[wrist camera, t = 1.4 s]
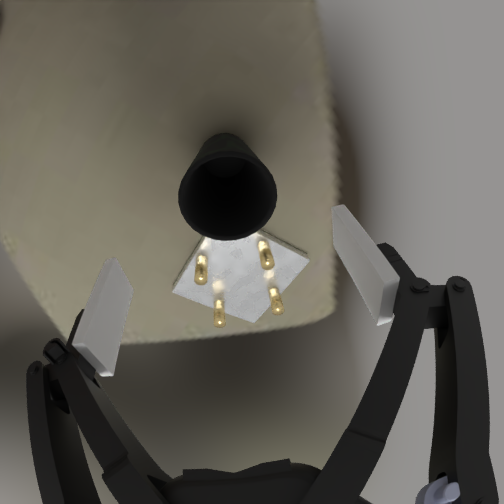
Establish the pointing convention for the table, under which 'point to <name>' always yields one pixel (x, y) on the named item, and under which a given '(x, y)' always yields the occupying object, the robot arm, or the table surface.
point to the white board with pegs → (240, 275)
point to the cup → (227, 190)
